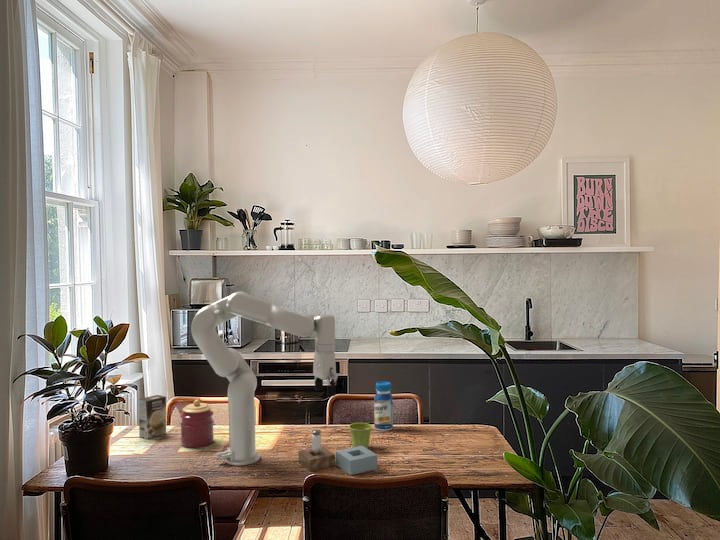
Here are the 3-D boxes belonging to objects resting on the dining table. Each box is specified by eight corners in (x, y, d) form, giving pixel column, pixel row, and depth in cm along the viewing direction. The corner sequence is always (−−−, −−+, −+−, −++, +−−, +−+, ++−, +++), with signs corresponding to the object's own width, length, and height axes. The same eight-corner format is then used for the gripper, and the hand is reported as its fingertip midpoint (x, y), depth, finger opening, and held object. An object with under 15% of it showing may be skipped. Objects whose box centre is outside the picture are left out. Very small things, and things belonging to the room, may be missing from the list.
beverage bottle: (397, 427, 239) (396, 382, 238) (385, 432, 232) (384, 386, 232) (382, 424, 244) (382, 380, 244) (370, 428, 238) (369, 383, 238)
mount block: (310, 471, 191) (309, 459, 191) (298, 462, 200) (298, 451, 200) (335, 465, 196) (335, 454, 196) (323, 456, 205) (322, 446, 205)
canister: (188, 450, 213) (188, 406, 212) (175, 442, 222) (174, 399, 222) (219, 443, 221) (218, 400, 221) (205, 435, 231) (204, 394, 230)
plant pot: (360, 442, 221) (360, 421, 220) (377, 447, 214) (377, 426, 214) (343, 448, 214) (343, 426, 214) (360, 454, 207) (360, 431, 207)
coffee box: (147, 439, 226) (147, 401, 226) (138, 436, 230) (138, 398, 230) (166, 433, 234) (166, 396, 234) (158, 430, 238) (157, 394, 237)
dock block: (350, 475, 187) (350, 460, 187) (335, 464, 197) (335, 451, 197) (377, 468, 193) (377, 454, 193) (362, 459, 202) (361, 445, 202)
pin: (314, 466, 196) (314, 433, 195) (310, 463, 198) (310, 430, 198) (322, 464, 197) (322, 431, 197) (318, 461, 200) (318, 429, 200)
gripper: (305, 345, 209) (305, 389, 210) (327, 352, 195) (327, 399, 195) (322, 343, 213) (322, 387, 214) (345, 350, 199) (345, 396, 199)
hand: (325, 393), depth 204 cm, fingers open, 9 cm apart
